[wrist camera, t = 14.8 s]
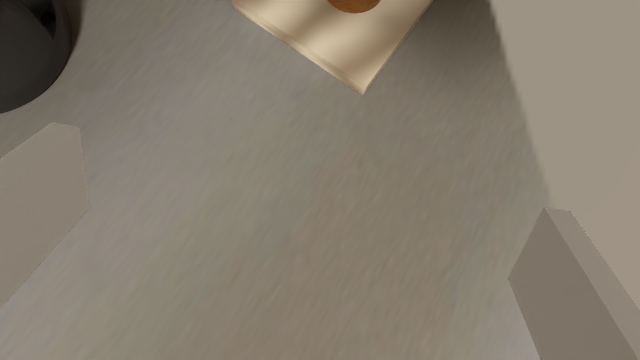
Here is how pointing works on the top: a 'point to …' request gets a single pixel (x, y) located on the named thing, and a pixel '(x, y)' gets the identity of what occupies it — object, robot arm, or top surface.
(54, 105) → the top surface
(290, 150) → the top surface
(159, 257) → the top surface
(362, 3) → the disposable coffee cup
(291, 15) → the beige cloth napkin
